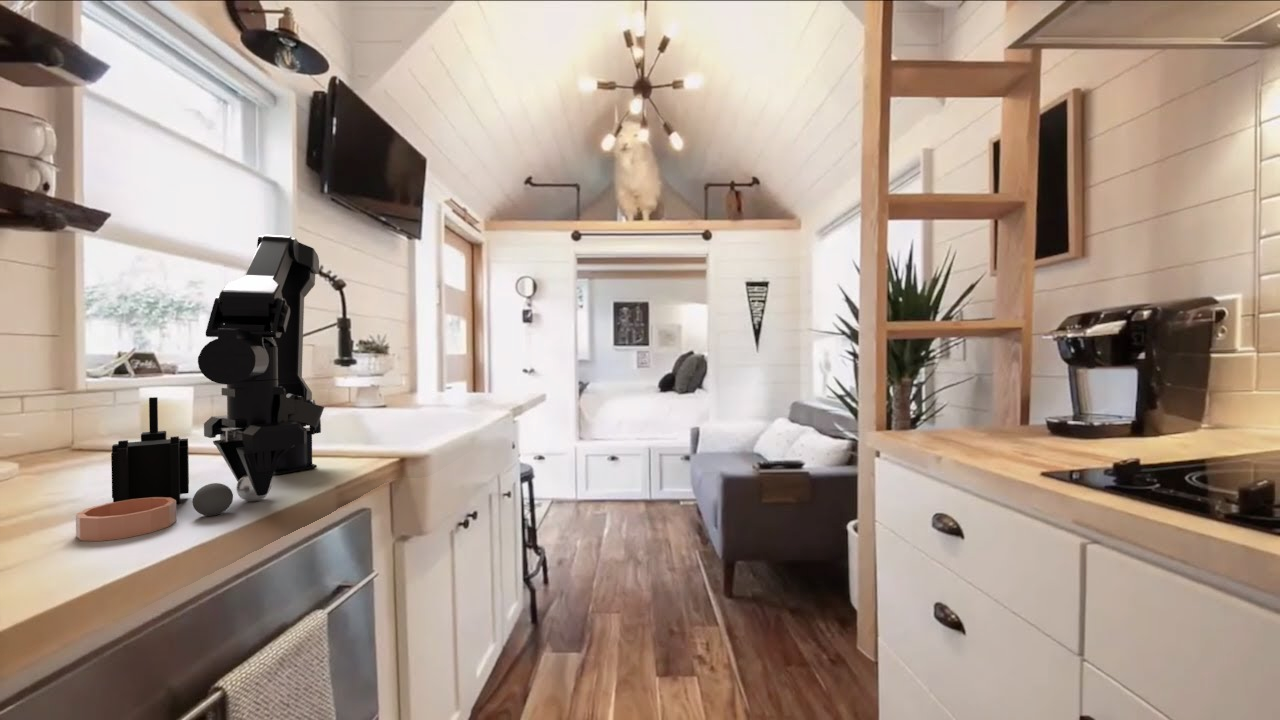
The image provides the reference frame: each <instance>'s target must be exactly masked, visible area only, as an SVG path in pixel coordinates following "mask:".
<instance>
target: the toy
mask: <svg viewBox="0 0 1280 720" xmlns="http://www.w3.org/2000/svg"><path fill="white" fill-rule="evenodd" d="M158 402H159V401H158V396H154V397H148V413H149V414H148V416H149V425H148V426H149V431H146V432H142V433H140V441H130V442H129V440H127V439H126V440H119V441H118V442H117V443H115V444H113V445H111V450H112V451H111V456H110V459H111V497H112V502H118V501H124V500H129V499H138V498H149V497H171V498H173V499H175V500H176V506H177V505H180V503H181V495H186V494H189V492H190V491H189V489H190V485H189V484H190V471H189V470H190V469H189V468H190V466H189V459H190V458H189V438H180V437H179V435H178V436H170V438H168V439H167V430H159V411H158V410H159V408H158V406H159V405H158V404H159V403H158Z"/></svg>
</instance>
